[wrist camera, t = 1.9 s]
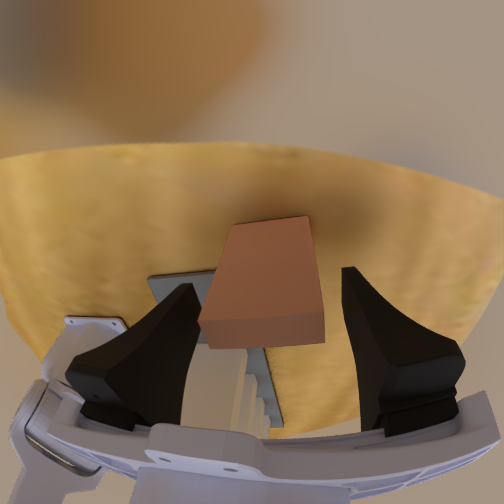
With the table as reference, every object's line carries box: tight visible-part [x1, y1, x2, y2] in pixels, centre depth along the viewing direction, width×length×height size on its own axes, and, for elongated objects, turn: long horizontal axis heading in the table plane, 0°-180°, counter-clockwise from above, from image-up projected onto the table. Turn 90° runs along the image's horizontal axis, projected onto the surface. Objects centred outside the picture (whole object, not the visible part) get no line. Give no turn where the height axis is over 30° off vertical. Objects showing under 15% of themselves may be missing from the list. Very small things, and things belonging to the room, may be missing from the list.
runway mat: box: [147, 271, 284, 428], centre depth 27 cm, size 8×27×1 cm, turn 11°
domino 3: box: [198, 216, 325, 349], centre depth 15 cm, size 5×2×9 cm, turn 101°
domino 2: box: [236, 374, 257, 435], centre depth 23 cm, size 5×2×9 cm, turn 101°
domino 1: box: [181, 344, 248, 431], centre depth 21 cm, size 5×2×9 cm, turn 101°
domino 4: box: [251, 397, 265, 439], centre depth 26 cm, size 5×2×9 cm, turn 101°
